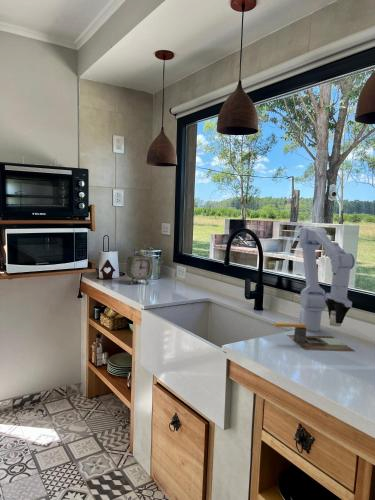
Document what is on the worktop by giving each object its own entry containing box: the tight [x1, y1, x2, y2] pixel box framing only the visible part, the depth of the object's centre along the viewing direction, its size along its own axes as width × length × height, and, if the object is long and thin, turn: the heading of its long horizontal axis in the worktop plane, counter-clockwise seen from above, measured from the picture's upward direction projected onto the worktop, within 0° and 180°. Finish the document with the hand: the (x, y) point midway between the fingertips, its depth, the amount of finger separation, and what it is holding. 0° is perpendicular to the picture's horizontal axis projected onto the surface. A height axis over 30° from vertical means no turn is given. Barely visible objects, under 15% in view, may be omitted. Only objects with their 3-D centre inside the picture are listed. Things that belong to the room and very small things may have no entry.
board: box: [286, 327, 356, 352], centre depth 136 cm, size 16×19×6 cm
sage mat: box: [320, 337, 348, 346], centre depth 138 cm, size 7×7×1 cm
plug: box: [329, 311, 342, 328], centre depth 137 cm, size 4×4×5 cm
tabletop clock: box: [125, 243, 154, 286], centre depth 226 cm, size 14×9×25 cm, turn 119°
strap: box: [274, 321, 307, 328], centre depth 134 cm, size 2×12×1 cm, turn 98°
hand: (335, 321), depth 137 cm, fingers closed on plug, 4 cm apart
